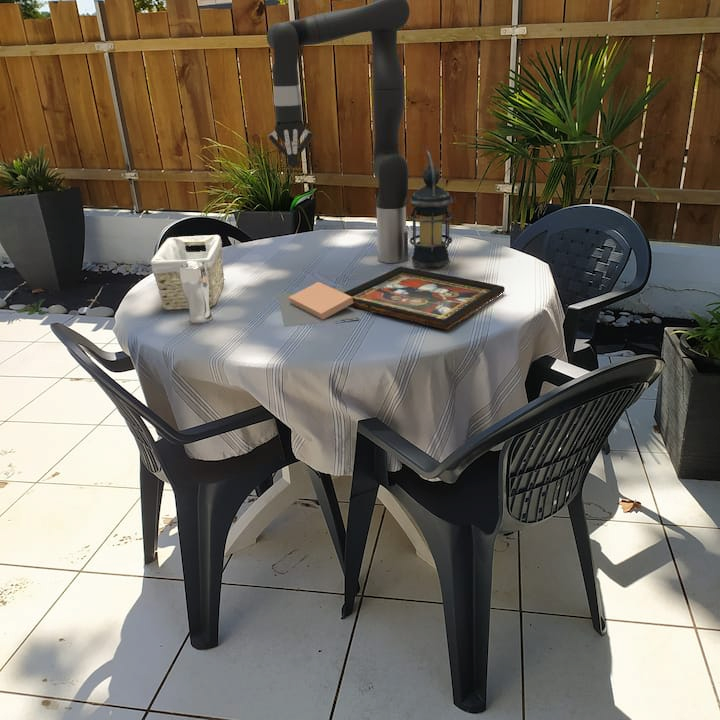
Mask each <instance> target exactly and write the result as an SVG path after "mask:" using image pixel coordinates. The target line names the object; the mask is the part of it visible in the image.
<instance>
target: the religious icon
mask: <svg viewBox="0 0 720 720" xmlns="http://www.w3.org/2000/svg"><path fill="white" fill-rule="evenodd" d="M503 292H504V293H505V286H503V285H498V284H494V283H490V282H484V281H479V280H475V279H471V278H470V279H469V278H463V277H459V276H453V275H447V274H444V273H443V274H441V273H438V272H431V271H427V270H421V269H416V268H411V267H405V266H399V267H397V268H393V269H391V270H390V271H387V272H385V273H383V274H381V275H378V276H377V277H375V278H373V279H370V280H368V281H366V282H364V283H361V284H360V285H359V284H358V286H355V287H353V288H350V289H348V290H345V292H344V294H347V295H349V296H351V297H352V299H353V304H351V305H349V306H353V308H358V309H361V310H366V311H369V312H373V313H377V314H381V315H385V316H389V317H394V318H398V319H401V320H404V321H409V320H410V321H409V322H413V321H414V323H417V324H421V323H422V325H425V324H426V326H429V325H430V327H433V326H434V327H433V328H437V327H439V328H438V329H441V328H443V329H442V330H449V329H451V328H452V327H453V325H454V326H456V325H457V324H459V323H461V322H462V321H464V320H465V319H467V318H468V317H470V316H472V313H473V312H474V313H476V312H477V311H478V310H480V309H481V308H480V307H482V306H483V305H484V306H486V305H487V304H486V303H487V302H489V301H490V300H492V299H494V298H496V297H497V296H499V295H500V294H501V293H503ZM504 293H503V294H504ZM500 296H501V295H500ZM500 296H499V297H500ZM497 298H498V297H497ZM497 298H496V299H497ZM494 300H495V299H494ZM492 301H493V300H492ZM489 303H490V302H489ZM485 304H486V305H485ZM484 306H483V307H484ZM483 307H482V308H483ZM479 308H480V309H479ZM477 309H478V310H477ZM476 310H477V311H476ZM475 311H476V312H475ZM474 313H473V314H474ZM469 315H470V316H469ZM466 317H467V318H466ZM463 319H464V320H463ZM461 320H462V321H461ZM458 322H459V323H458ZM456 323H457V324H456ZM455 324H456V325H455ZM450 327H451V328H450Z"/></svg>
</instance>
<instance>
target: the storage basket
mask: <svg viewBox="0 0 720 720" xmlns="http://www.w3.org/2000/svg"><path fill="white" fill-rule="evenodd" d="M222 245H223V242H222V239H221V236H220V235H219V234H211V235H210V234H209V235H193V236H191V235H189V236H177V237H176V236H175V237H173V236H172V237H167V239H166V240H165V241H164V242H163V243H162V245H161V246H160V247H159V249H158V250H157V252H156V253H155V255H153V256H152V259H151V261H150V265H151V270H152V271H151V272H152V274H153V276H154V278H155V282H156V285H157V289H158V294H159V296H160V299H161V302H162V306H163V309H164V310H166V311H172V310H189V307H188V304H187V301H186V298H185V295H184V292H183V289H182V285H181V280H180V269H179V265H180V264H182V263H184V262H189V261H203V262H205V265H206V269H207V273H208V279H209V307H210V308H212V307H216V304H217V301H218V299H219V297H220V295H221V292H222V290H223V287H224V283H225V280H226V279H225V278H224V277H225V274H224V264H223V263H224V261H223V260H224V259H223V251H222V250H223V246H222ZM188 246H205V251H187V250H186V247H188Z"/></svg>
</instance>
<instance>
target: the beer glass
mask: <svg viewBox="0 0 720 720" xmlns="http://www.w3.org/2000/svg"><path fill="white" fill-rule="evenodd" d="M179 269H180V280H181V285H182V289H183V292H184V295H185V298H186V301H187V304H188V307H189V309H188V314H189V315H188V321H189V323H191V324H196V323H198V324H199V323H200V324H205V322H206V323H208V322H210V321H212V319H213V318H214V317H213V314H212V311H211V307H209V279H208V273H207V269H206V265H205V262H203V261H189V262H184V263H182V264H180V265H179ZM198 324H197V325H198Z"/></svg>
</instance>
